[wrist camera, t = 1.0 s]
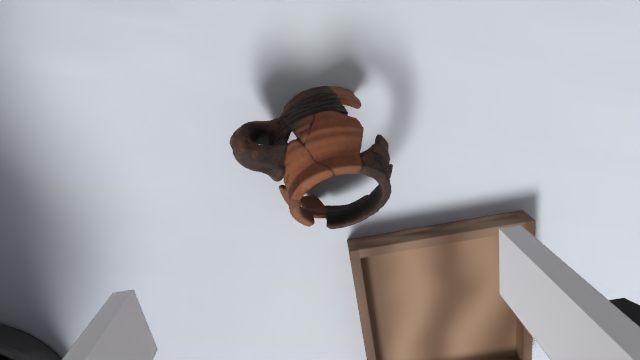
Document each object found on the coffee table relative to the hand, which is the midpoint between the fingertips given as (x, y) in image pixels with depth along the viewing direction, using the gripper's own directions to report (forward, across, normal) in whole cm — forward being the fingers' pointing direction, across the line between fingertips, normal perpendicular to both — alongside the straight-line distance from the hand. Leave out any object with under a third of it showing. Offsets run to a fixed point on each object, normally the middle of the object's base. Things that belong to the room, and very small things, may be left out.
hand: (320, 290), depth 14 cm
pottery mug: (+19, 0, 0) cm, 19 cm away
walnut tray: (+18, +10, -17) cm, 27 cm away
